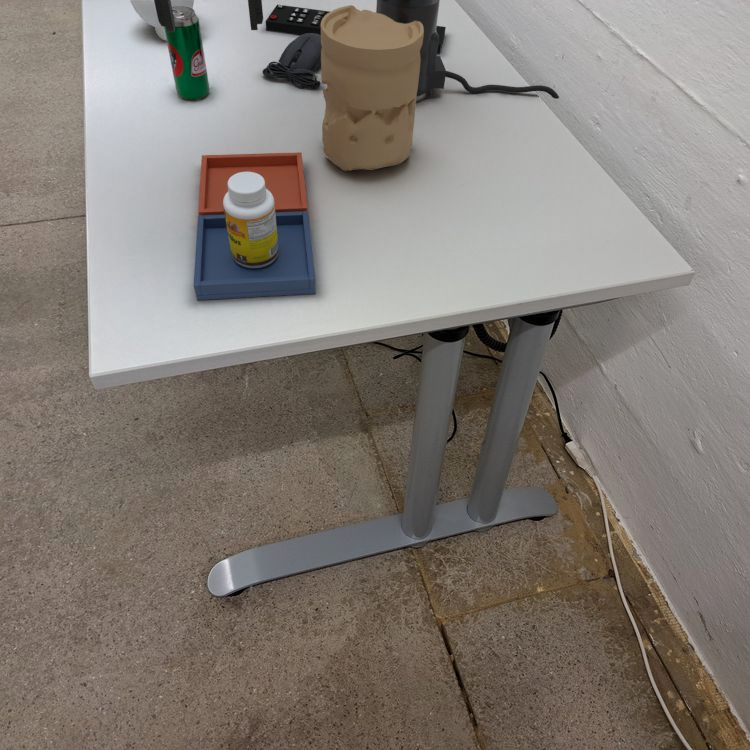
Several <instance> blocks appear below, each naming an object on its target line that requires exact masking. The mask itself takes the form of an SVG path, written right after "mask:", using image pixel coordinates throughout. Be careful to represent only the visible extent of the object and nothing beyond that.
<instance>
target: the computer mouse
mask: <svg viewBox="0 0 750 750" xmlns="http://www.w3.org/2000/svg"><path fill="white" fill-rule="evenodd" d="M321 49H322V45H321V35H319V34H314V33H306V34H303V35H298V36H297V37H296V38H295V39H293V40H292V41H291V42H289V43H288V45H287V46H286V47H285V49H284V50H283V52H282V53H281V55H280V57H279V59H278V61H270V62H268V64H267V66H266V67H264V68H263V69H262V71H261V72H262V75H263V76H264V77H265V78H267V79H287V81H288V82H289V81H290V82H291V83H292V84H293V86H295V88H298V89H305V88H308V89H311V90H312V89H313V90H315V89H318V88H320V87H321V85H322V82H321V80H322V79H321V74H318V73H316V71H317V70H318V69H319V68H321Z"/></svg>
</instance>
